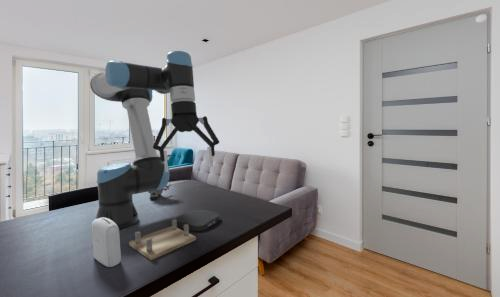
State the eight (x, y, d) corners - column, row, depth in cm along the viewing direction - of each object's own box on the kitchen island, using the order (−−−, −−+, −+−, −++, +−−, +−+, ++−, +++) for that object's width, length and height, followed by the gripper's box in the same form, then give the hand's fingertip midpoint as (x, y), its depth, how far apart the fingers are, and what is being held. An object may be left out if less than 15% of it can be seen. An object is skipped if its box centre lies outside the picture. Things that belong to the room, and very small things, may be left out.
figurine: (169, 198, 127) (168, 170, 126) (146, 200, 125) (145, 171, 124) (171, 194, 136) (170, 167, 135) (150, 195, 134) (149, 168, 133)
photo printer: (91, 257, 71) (88, 217, 70) (106, 251, 75) (104, 212, 74) (107, 270, 65) (104, 225, 64) (123, 262, 69) (121, 220, 67)
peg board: (129, 245, 79) (128, 231, 78) (172, 228, 91) (172, 216, 90) (150, 260, 70) (150, 244, 69) (196, 240, 82) (195, 226, 81)
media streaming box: (195, 213, 107) (195, 207, 107) (223, 219, 100) (222, 212, 100) (170, 226, 94) (170, 218, 94) (200, 233, 87) (200, 225, 87)
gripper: (139, 100, 68) (146, 175, 69) (224, 99, 77) (230, 165, 77) (141, 105, 75) (147, 173, 76) (219, 104, 84) (224, 164, 84)
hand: (189, 169), depth 76 cm, fingers open, 13 cm apart
